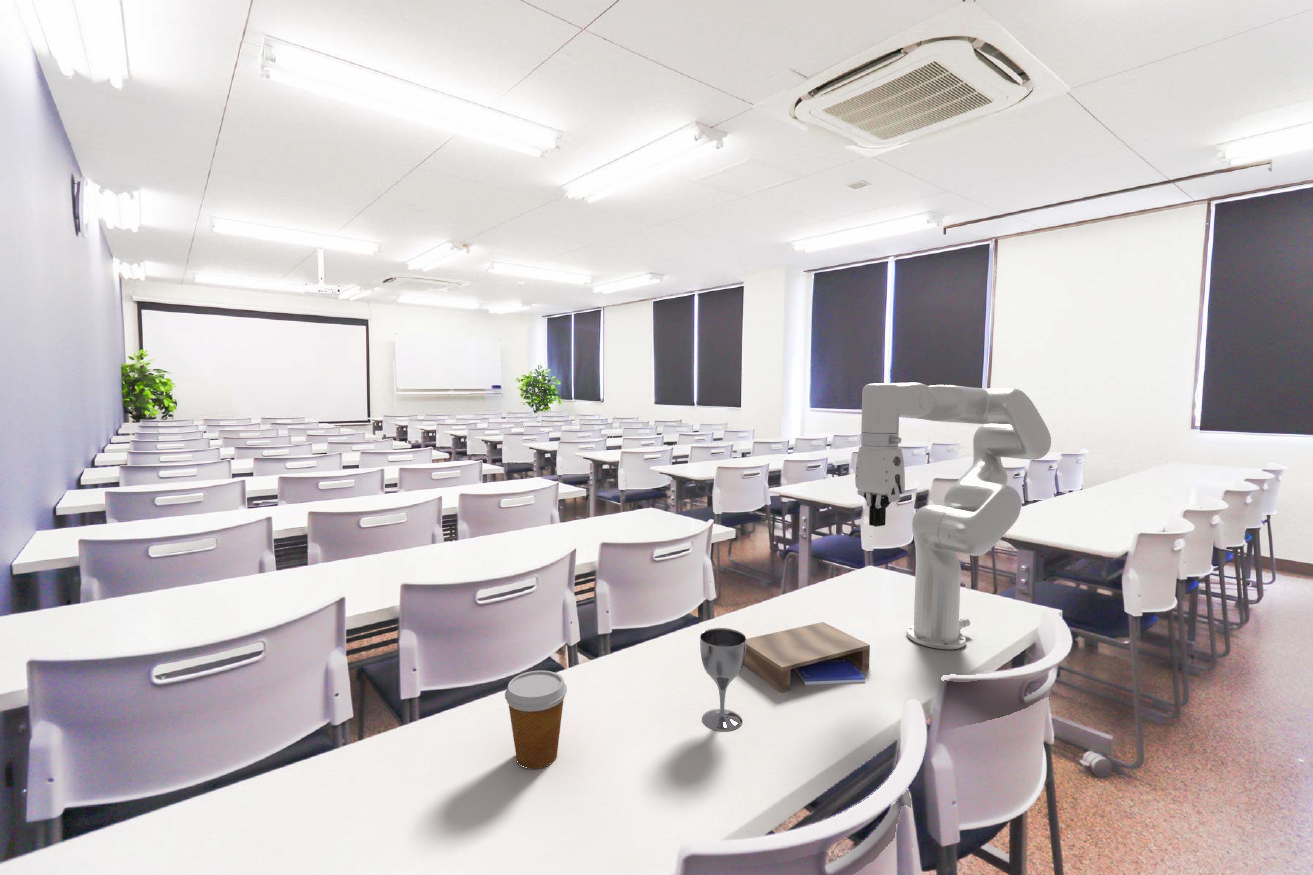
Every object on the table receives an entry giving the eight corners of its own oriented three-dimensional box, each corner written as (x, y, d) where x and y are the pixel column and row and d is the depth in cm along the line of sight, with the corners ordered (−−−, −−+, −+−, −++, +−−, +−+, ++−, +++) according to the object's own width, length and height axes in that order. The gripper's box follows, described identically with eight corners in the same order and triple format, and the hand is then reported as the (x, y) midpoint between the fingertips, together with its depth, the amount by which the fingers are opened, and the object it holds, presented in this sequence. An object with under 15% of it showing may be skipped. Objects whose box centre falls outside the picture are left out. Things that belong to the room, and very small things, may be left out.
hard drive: (805, 679, 115) (865, 677, 116) (791, 660, 124) (848, 659, 125) (804, 687, 115) (865, 684, 117) (791, 668, 124) (848, 666, 125)
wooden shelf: (822, 642, 135) (823, 621, 135) (869, 668, 122) (869, 644, 122) (740, 662, 125) (740, 640, 124) (781, 692, 112) (782, 667, 112)
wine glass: (715, 737, 97) (716, 650, 96) (691, 714, 104) (691, 632, 103) (754, 725, 101) (755, 641, 100) (728, 703, 108) (728, 624, 107)
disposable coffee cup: (538, 784, 85) (537, 705, 85) (492, 762, 91) (491, 687, 90) (579, 751, 94) (579, 678, 93) (536, 732, 99) (535, 663, 98)
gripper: (921, 442, 120) (918, 530, 121) (865, 438, 134) (863, 517, 135) (895, 444, 117) (892, 534, 118) (841, 439, 130) (839, 520, 131)
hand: (877, 525), depth 126 cm, fingers closed
